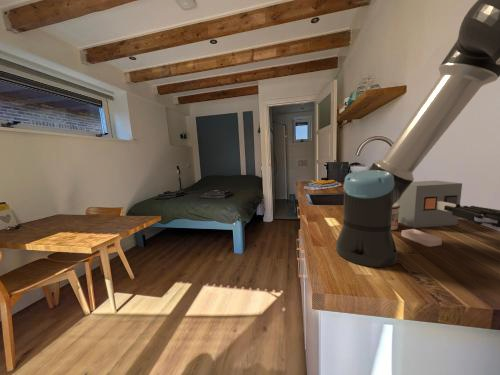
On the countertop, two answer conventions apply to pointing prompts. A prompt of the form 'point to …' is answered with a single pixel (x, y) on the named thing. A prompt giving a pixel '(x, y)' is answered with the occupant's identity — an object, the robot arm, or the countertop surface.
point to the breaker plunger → (429, 202)
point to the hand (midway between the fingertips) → (438, 205)
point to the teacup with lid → (395, 216)
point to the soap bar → (422, 237)
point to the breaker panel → (414, 203)
